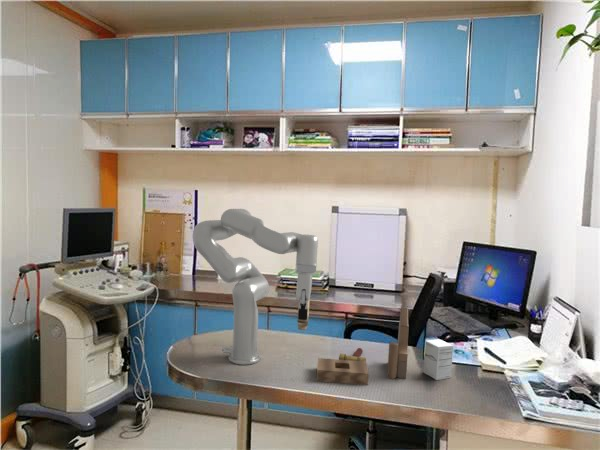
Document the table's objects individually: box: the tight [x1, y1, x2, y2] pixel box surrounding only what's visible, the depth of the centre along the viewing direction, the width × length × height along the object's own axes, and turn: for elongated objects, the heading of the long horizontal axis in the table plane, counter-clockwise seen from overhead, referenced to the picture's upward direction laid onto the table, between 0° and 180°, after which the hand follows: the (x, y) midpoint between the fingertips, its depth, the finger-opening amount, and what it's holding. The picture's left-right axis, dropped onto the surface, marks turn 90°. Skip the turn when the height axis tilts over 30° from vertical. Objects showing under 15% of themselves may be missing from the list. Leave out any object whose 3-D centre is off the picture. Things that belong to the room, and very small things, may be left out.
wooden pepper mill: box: [296, 297, 311, 331], centre depth 153 cm, size 4×4×12 cm
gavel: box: [338, 347, 367, 363], centre depth 169 cm, size 21×5×10 cm
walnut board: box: [316, 357, 370, 386], centre depth 152 cm, size 18×11×4 cm, turn 86°
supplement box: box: [423, 338, 454, 381], centre depth 156 cm, size 7×7×13 cm
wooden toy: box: [387, 306, 410, 379], centre depth 158 cm, size 16×7×25 cm, turn 169°
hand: (302, 317), depth 153 cm, fingers closed on wooden pepper mill, 4 cm apart
